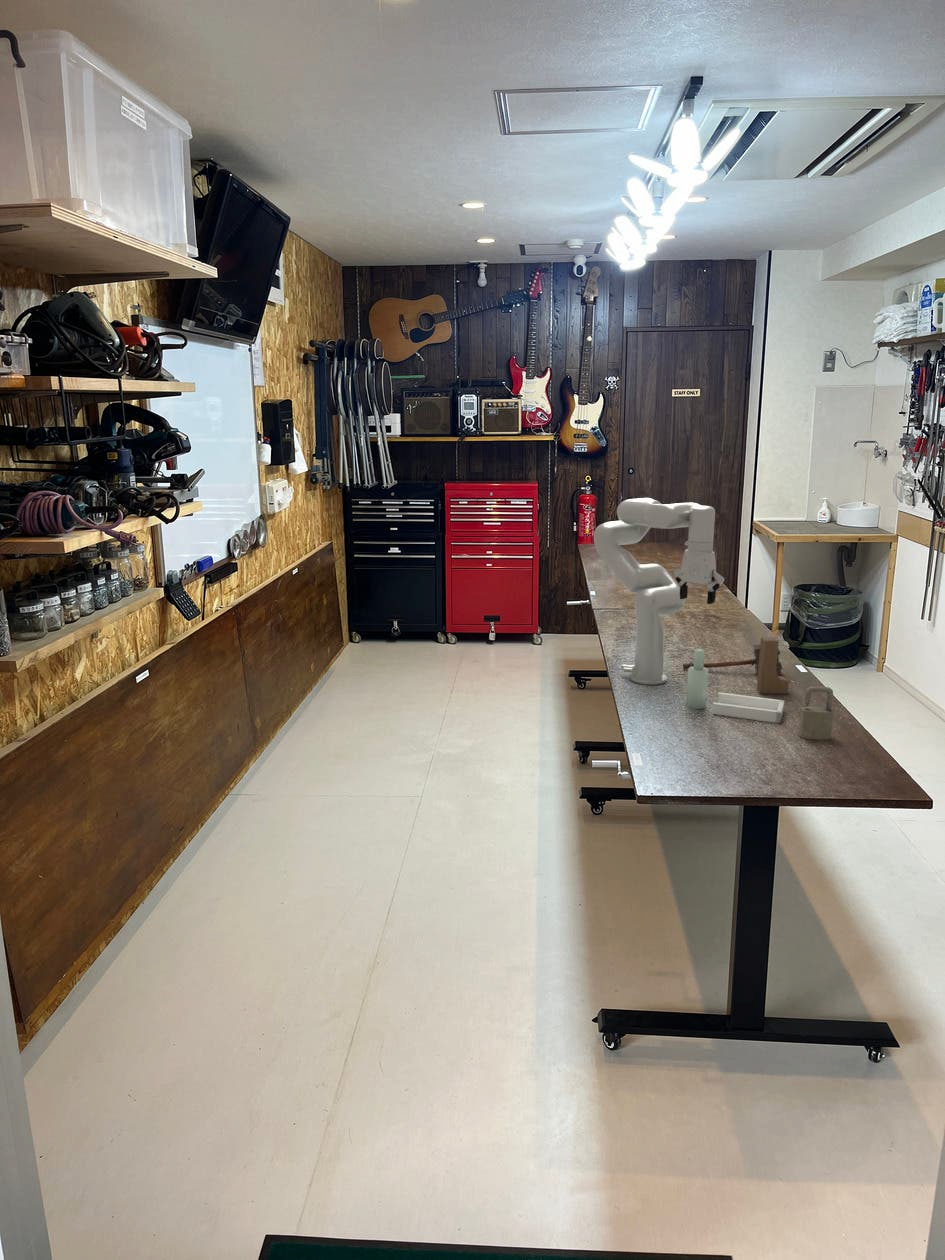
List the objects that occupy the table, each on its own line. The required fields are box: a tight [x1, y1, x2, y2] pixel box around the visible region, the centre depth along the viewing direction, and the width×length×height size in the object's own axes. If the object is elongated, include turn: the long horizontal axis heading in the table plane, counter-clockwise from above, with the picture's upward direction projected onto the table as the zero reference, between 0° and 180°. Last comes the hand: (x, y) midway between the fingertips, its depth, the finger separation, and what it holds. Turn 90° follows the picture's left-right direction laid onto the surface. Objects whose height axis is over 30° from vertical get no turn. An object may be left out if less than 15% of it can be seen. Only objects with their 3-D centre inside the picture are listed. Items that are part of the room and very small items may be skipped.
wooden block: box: [756, 636, 790, 695], centre depth 292 cm, size 9×4×18 cm, turn 91°
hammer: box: [682, 644, 783, 676], centre depth 313 cm, size 7×33×10 cm, turn 78°
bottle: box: [685, 648, 709, 710], centre depth 279 cm, size 6×6×18 cm
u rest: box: [712, 692, 785, 724], centre depth 275 cm, size 20×11×3 cm, turn 67°
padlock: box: [798, 685, 834, 740], centre depth 254 cm, size 4×8×15 cm, turn 83°
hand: (696, 600), depth 281 cm, fingers open, 9 cm apart
